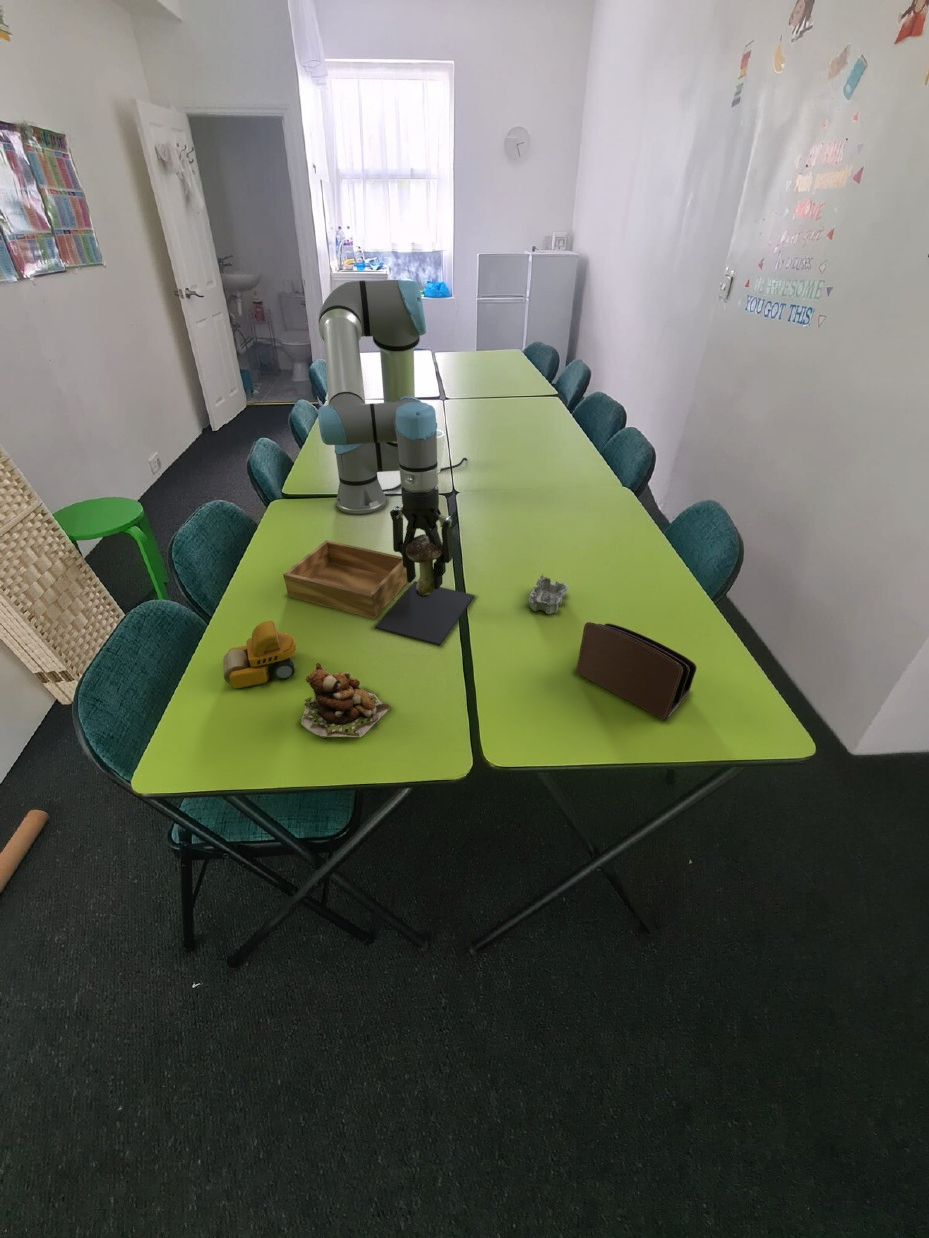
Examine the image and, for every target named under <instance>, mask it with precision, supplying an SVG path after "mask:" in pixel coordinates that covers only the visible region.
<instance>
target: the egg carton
mask: <svg viewBox="0 0 929 1238" xmlns="http://www.w3.org/2000/svg"><path fill="white" fill-rule="evenodd" d="M536 581H537V582H536V584H535V585H534V586H533V589H532V590H531V591H530V593H529V598H528V602H529V606H528V607H529V608H531V611H533V612H538V611H544V612H545V614H548V615H551V614H557V613H558V609H559V606H561V605H562V603H563V602H562V601H563V599H565V597H566V593H567V590H568V589H569V585H568V584H565V583H564V582H561V583H560V582H559V581H557V580H556V581H555V582H551V581H552V580H551V579H550V578H549V577H546V576H544V574H541V575H540V576H539V578H538V579H537V580H536Z"/></svg>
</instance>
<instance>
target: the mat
mask: <svg viewBox="0 0 929 1238" xmlns="http://www.w3.org/2000/svg"><path fill="white" fill-rule="evenodd" d="M417 582H418V581H416V580H415V581H413V583H412V584H411V585H410V586H409V587H408V589H407V590H406V591H405V592H404V593H403V594H402V595H401V597H400V598H399V599H398V600H397V601H396V602H395V603H394V604H393V606H392V607H391V608H390V609H389V610H388V611H387V612H386V614H385V615H383V617H382V618H381V619H380V620H379V621H378V622H377V623H376V624H375V626H374V629H377V630H379V631H383V632H385V633H386V632H387V633H390V634H394V635H398V636H402V637H405V638H409V639H412V640H416V641H420V642H423V643H428V644H431V645H434V646H439V647H440V646H441V645H442V643H443V642H444V641H445V639H446V638H447V637H448V635H449V633H450V632H451V631H452V629H453V628H454V626H455V625H456V624H457V623H458V621H459V620H460V618H461V616H462V615H463V614H464V613H465V611H466V609H467V608H468V607H469V605H470V604H471V602H472V601H473V600H474V598H475V595H474V594H470V593H467V592H462V591H459V590H455V589H449V588H446V587H442V586H440V587H439V588H438V589H435V590H434V591H433V592H432V593H431V594H430V595H429V596H428V597H420V596H418V595H417V593H416V585H417Z"/></svg>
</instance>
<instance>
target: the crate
mask: <svg viewBox="0 0 929 1238" xmlns="http://www.w3.org/2000/svg"><path fill="white" fill-rule="evenodd" d="M282 575H283V580H284V584H285V588H286V589H285V590H286V593H287V597H290V598H293V599H297V600H300V601H305V602H308V603H312V604H316V605H320V606H322V607H326V608H327V607H328V608H330V609H331V608H332V609H335V610H339V611H343V612H345V613H350V614H353V615H358V616H361V617H364V618H369V619H372V620H374V619H376V618H377V617H378V615H379V614H380V613H381V612H382V611H383V610H384V609H385V608H386V606H387V605H389V603H391V601H392V600H393V599H394V597H396V595H397V594H398V593H399V592H400V591H401V590H402V589H403V588H404V587H405V586H406V584H407V583H408V582H407V571H406V568H405V567H404V566H403V560H402V555H401V556H400V555H396V554H391V553H387V552H382V551H378V550H373V549H369V548H365V547H359V546H355V545H350V544H346V543H341V542H337V541H332V540H329V539H326V540H324V541H323V542H322V543H320V544H319V545H317V546H316V547H315V548H314V549H313V550H312V551H311V552H309V553H308V554H307V555H306V556H304V557H303V558H302V559H300V560H299V561H298V562H296V563H295V564H294V565H293V566H292V567H290V568H289V569H288V570H287V571H286V572H284V573H283V574H282Z"/></svg>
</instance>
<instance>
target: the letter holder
mask: <svg viewBox="0 0 929 1238" xmlns="http://www.w3.org/2000/svg"><path fill="white" fill-rule="evenodd" d="M697 668H698V667H697V665H696V663H695V662H694V661H693V660H691V659H689V658H688V657H686V656H685V655H683V654H681V653H680V652H677V651H676V650H674V649H672V648H670V647H668V646H666V645H664V644H662V643H661V642H658V641H656V640H654V639H651V638H650V637H648V636H646V635H642V633H638V632H636V631H634V630H631V629H628V628H626V627H623V626H621V625H617V624H614V623H610V622H607V623H606V622H605V623H604V624H603V623H595V622H592V621H588V622H586V623H584V626H583V630H582V636H581V642H580V647H579V653H578V658H577V663H576V668H575V674H577V675H579V676H582V678H585V679H587V680H589V681H590V682H593V683H594V684H596V685H598V686H600V687H602V688H603V689H605V690H607V691H609V692H611V693H613V694H615V695H617V696H618V697H620V698H622V699H624V700H626V701H628V702H629V703H631V704H633V705H635V706H637V707H639V708H640V709H642V710H644V711H646V712H647V713H649V714H652V715H653V716H656V717H657V718H659V719H661V720H662V721H664V722H667V720H668V719H669V718H670V717H671V715H672V714H673V713H674V711H676V709H677V708H679V706H680V705H681V704H682V702H683V701H684V700H685V698H686V697H687V696H688V694H689V693H690V690H691V687H692V684H693V680H694V677H695V674H696V672H697Z"/></svg>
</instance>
